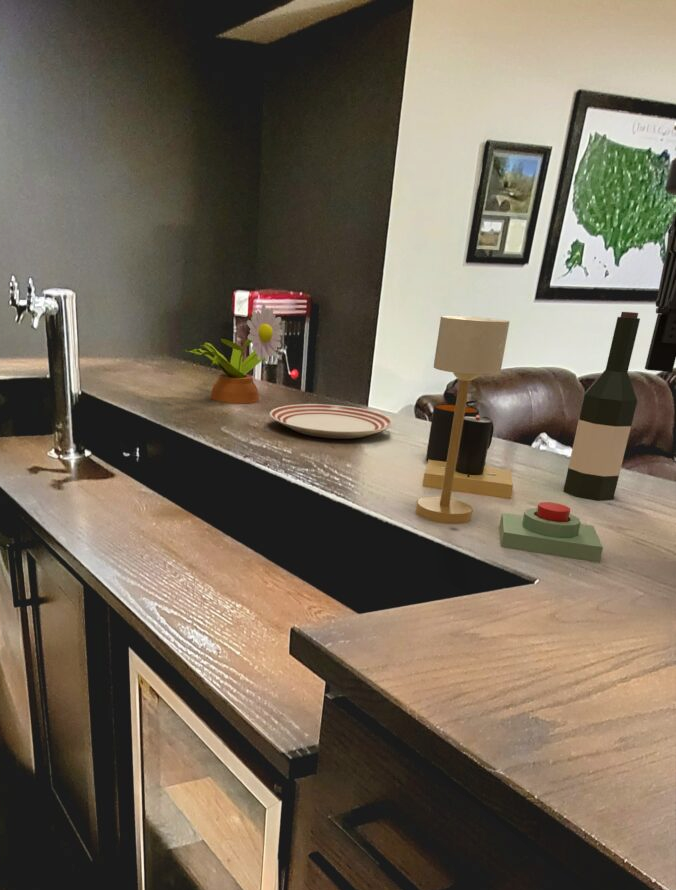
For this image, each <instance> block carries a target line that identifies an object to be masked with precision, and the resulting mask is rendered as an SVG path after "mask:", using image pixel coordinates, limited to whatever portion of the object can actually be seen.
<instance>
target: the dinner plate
mask: <svg viewBox="0 0 676 890" xmlns="http://www.w3.org/2000/svg"><path fill="white" fill-rule="evenodd" d="M268 415H269V417H270V418H271V419H272V420H274V421H275V422H277V423H279V424H281V425H282V426H285V427H287V428H289V429H290V430H292V431H294V432H296V433H299V434H303V435H307V436H311V437H315V438H316V437H317V438H324V439H336V440H345V439H346V440H348V439H349V440H350V439H360V438H365V437H367V436H371V435H374V434H379V433H381V432H384V431H386V430H388V429H390V428H392V427H393V426H394V423H395V422H394V420H393V418H391V417H390V416H388V415H387V414H384V413H382V412H378V411H376V410H372V409H367V408H362V407H354V406H348V405H339V404H337V405H336V404H323V403H301V404H300V403H299V404H290V405H289V404H288V405H283V406H279V407H276V408H273V409H271V411H270V412H269V414H268Z"/></svg>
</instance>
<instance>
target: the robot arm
mask: <svg viewBox="0 0 676 890" xmlns="http://www.w3.org/2000/svg"><path fill="white" fill-rule="evenodd" d="M673 129H674V131H676V122H675V123H674V127H673ZM674 151H676V146H675V148H674ZM665 192H666V193H667V194H669V195H673V196H676V156H675V157H674V158H673V159H672V160H671V164H670V168H669V171H668V175H667V180H666V184H665ZM655 307H656V308H655V314H657V316H656V319H655V323H654V328H653V332H652V336H651V341H650V345H649V349H648V353H647V357H646V360H645V361H646V362H645V365H644V370H647V371H654V372H666V373H673V371H674V367H675V363H676V211H675V212H674V214H673V217H672V220H671V225H670V226H669V228H668V230H667V242H666V249H665V254H664V260H663V266H662V271H661V276H660V282H659V287H658V292H657V296H656V300H655Z"/></svg>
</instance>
